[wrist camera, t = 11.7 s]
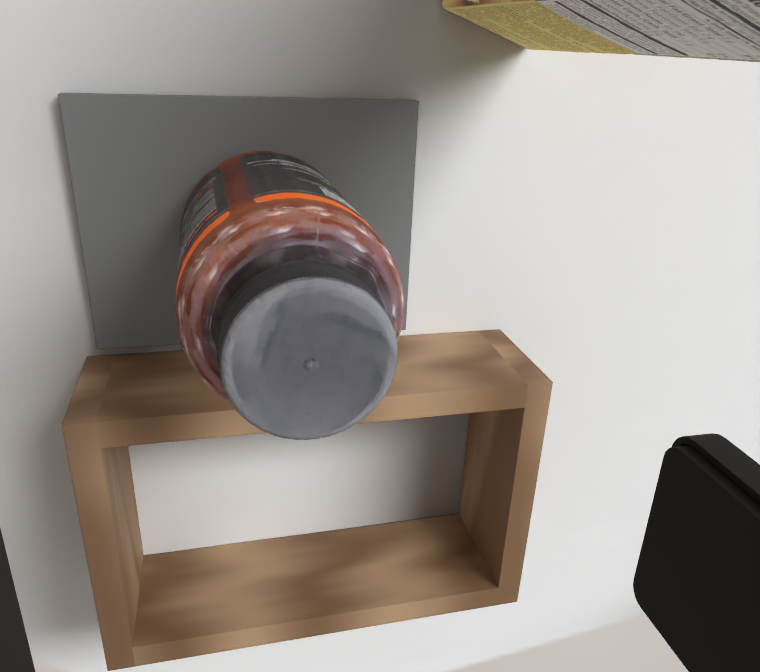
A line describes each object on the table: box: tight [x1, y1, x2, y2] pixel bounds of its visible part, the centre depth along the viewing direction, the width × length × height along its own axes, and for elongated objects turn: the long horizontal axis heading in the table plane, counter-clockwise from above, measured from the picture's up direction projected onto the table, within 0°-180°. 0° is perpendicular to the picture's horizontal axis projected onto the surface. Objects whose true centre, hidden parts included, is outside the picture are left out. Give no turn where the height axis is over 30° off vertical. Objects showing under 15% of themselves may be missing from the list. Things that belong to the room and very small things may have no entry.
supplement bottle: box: [175, 151, 404, 440], centre depth 19 cm, size 6×6×11 cm
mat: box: [58, 93, 419, 349], centre depth 24 cm, size 12×9×1 cm
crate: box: [62, 330, 553, 671], centre depth 27 cm, size 17×11×5 cm, turn 88°
